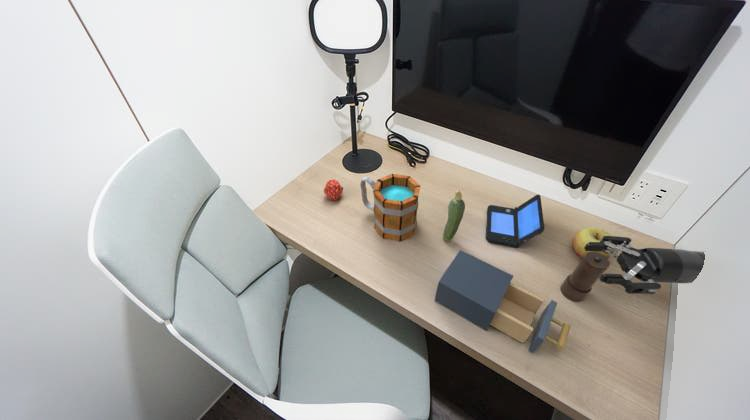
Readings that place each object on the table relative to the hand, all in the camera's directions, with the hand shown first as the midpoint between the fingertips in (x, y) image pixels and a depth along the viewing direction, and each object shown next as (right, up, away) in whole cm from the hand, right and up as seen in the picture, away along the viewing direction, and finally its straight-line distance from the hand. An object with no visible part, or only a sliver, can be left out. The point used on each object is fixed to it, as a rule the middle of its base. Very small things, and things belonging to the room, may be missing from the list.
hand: (593, 261), depth 71 cm
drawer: (-15, -15, +2) cm, 22 cm away
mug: (-46, +8, +28) cm, 54 cm away
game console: (-9, +6, +25) cm, 27 cm away
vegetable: (-28, +3, +22) cm, 35 cm away
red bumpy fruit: (-64, +17, +37) cm, 76 cm away
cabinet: (-26, -10, +8) cm, 29 cm away
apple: (+10, -1, +18) cm, 20 cm away
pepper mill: (+1, -9, +9) cm, 13 cm away
